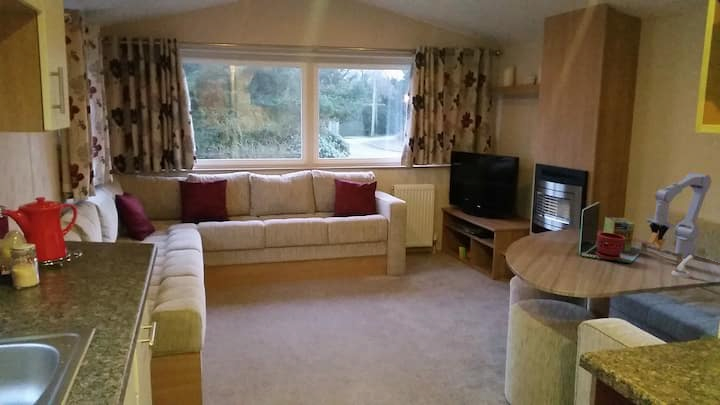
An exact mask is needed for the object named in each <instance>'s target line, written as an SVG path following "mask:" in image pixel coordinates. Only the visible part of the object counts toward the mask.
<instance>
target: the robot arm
mask: <svg viewBox="0 0 720 405" xmlns="http://www.w3.org/2000/svg"><path fill="white" fill-rule="evenodd" d="M711 185H712V177H711V175H709V174H705V173H704V174H702V173H696V172H689V173H687V174H686V176H685V178H683V179H682V180H681V181H679V182H672V183H671V184H670V185H669V186H666V187H665V188H663V189H662V188H660V189H658V190H657V191H656V192H655V194H654V198H655V203H656V205H655V212H654V218H649V217H647V218H645V223H650V224H649V227H650V230H651V234H652V233H653V232H654V233H658V234H659V235H658V240H662V238H664V236H665V235H666V233H667V232H668V230H669V229H674V235H675V236H676V237H675V238H676V245H675V251H673V252H674V253H683V258H684V259H685V258H687V257H688V256H689V255H692V256H693V258H694V257H697V255H696V249H697V241H696V240H697V239H698V238H699V232H700V227H699V225H698V224H697V220H698V218H699V214H700V211H701V208H702V206H703V203H704V201H705V198H706V195H707V193H708V192H709V189H710V187H711ZM687 187H690V188H691V189H692V191H693V195H692V198H691V200H690V203H689V205H688V208H687V212H686V214H685V218H684V219H682V220H681V221H679V222H678V224H677V226H675V224H674V223H670V222H667V221H668V214H669V209H670V203H671V202H672V201H673V200H674V198H676V196H677V195H679V194H681V193H682V192H683V190H684V189H686V188H687Z"/></svg>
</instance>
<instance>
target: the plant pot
mask: <svg viewBox="0 0 720 405" xmlns="http://www.w3.org/2000/svg"><path fill="white" fill-rule="evenodd" d="M625 241H626V238H625V237H624V236H621V235H618V234H613V233H606V232H602V231H601V232H598V233H597V236H596V248H597V250H596V251H595V254H596V256H598V257H599V258H601V259H603V260H609V261H613V260H615V261H617V260H620V258H621V254H622V253H623V251H622V250H623V248H624V245H625ZM606 243H607V244H606ZM617 245H618V246H617Z"/></svg>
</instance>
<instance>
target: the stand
mask: <svg viewBox="0 0 720 405" xmlns="http://www.w3.org/2000/svg"><path fill="white" fill-rule="evenodd" d="M647 249H651V250H654V251H657V252H661V253H663V254H667V255H670V256H673V257H676V258H672V257H669V256H666V255H663V254H659V253H657V252H653V251H650V250H647ZM639 252H641V253H640V254H643V255H646V256H647V257H648V256H649V257H652V258H655V259H658V260H660V261H664V262H666V263H670V264H673V265H676V266H678V265H679V264H680V263H681V262H682V261H683V258H684V257H683V253H674V252H675V251H669V250H667V249H663V248H661V249H658V248H656V247H655V245H652V244H651V245H650V244H648V242H645V241H643V242H642V243H641V247H640V250H638V253H639Z"/></svg>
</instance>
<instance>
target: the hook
mask: <svg viewBox="0 0 720 405" xmlns="http://www.w3.org/2000/svg"><path fill="white" fill-rule="evenodd" d="M693 259H694V257H693V256H692V255H689V256H688V257H686V258H684V259H682V262H681V263H680V264H677V266H676V267H677V269H673V270H672V271H671V274H672V275H673V276H676V277H679V278H690V277H691V274H690V272H689V271H687V270H686V268H687V267H686V265H687V264H689V263H690V262H691V261H692V260H693Z"/></svg>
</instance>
